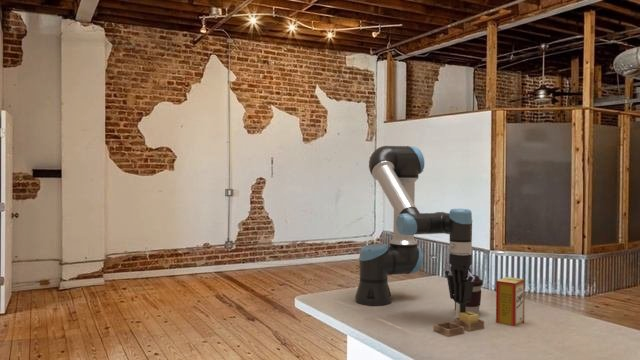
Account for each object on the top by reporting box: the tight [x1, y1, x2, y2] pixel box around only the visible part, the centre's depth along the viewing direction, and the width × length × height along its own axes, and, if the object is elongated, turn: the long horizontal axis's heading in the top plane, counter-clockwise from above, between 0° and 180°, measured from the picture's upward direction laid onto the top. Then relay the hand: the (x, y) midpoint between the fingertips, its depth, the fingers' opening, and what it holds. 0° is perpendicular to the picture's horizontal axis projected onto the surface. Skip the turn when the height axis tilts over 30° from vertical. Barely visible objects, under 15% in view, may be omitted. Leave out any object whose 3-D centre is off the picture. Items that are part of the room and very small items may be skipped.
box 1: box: [433, 321, 465, 337], centre depth 172 cm, size 7×7×3 cm
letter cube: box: [459, 312, 480, 323], centre depth 178 cm, size 4×4×5 cm
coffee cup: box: [465, 274, 484, 316], centre depth 195 cm, size 10×10×15 cm
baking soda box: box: [495, 276, 526, 327], centre depth 185 cm, size 10×6×16 cm
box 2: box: [453, 317, 485, 332], centre depth 178 cm, size 7×7×3 cm
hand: (460, 320), depth 181 cm, fingers closed
